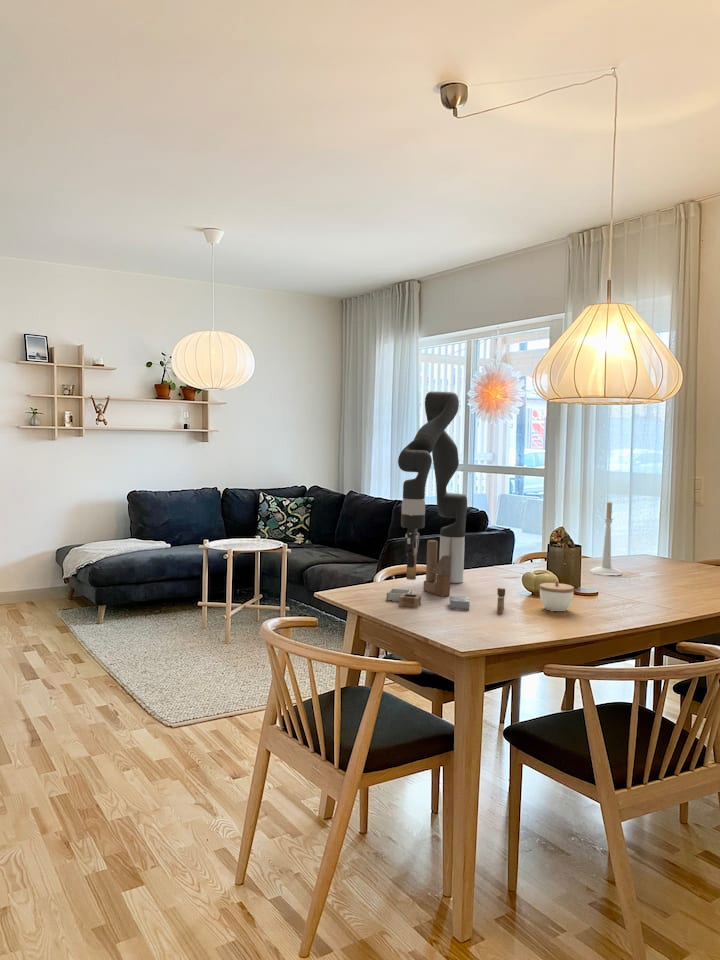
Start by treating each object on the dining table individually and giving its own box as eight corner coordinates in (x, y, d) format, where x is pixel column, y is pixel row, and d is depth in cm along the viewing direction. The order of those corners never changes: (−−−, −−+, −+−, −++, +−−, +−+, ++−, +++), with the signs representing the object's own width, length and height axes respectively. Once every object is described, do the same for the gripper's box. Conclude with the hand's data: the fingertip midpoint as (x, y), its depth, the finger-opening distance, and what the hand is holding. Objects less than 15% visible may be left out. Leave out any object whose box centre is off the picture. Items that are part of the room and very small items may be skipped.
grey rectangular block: (449, 605, 243) (450, 596, 243) (468, 606, 243) (468, 597, 242) (450, 610, 236) (450, 600, 236) (469, 611, 236) (469, 601, 235)
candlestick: (626, 576, 303) (630, 503, 301) (594, 575, 303) (598, 502, 302) (616, 571, 316) (620, 500, 314) (586, 569, 316) (589, 499, 314)
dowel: (407, 577, 242) (408, 546, 241) (416, 578, 241) (417, 547, 240) (405, 579, 239) (406, 548, 238) (414, 580, 238) (415, 548, 237)
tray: (391, 595, 253) (391, 588, 253) (411, 597, 252) (411, 589, 252) (386, 600, 246) (386, 592, 245) (407, 602, 244) (407, 594, 244)
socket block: (402, 602, 244) (402, 593, 244) (420, 603, 242) (421, 594, 242) (399, 606, 238) (399, 596, 238) (417, 607, 237) (418, 598, 236)
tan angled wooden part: (441, 597, 254) (443, 544, 253) (422, 590, 263) (424, 540, 262) (450, 596, 256) (452, 544, 254) (431, 590, 265) (433, 539, 264)
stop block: (497, 607, 241) (498, 585, 240) (505, 607, 240) (506, 586, 240) (495, 613, 232) (496, 591, 232) (503, 614, 232) (504, 591, 231)
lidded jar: (568, 606, 245) (569, 578, 245) (576, 614, 234) (578, 584, 234) (535, 605, 245) (536, 577, 245) (542, 613, 235) (543, 583, 234)
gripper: (405, 509, 246) (404, 561, 247) (397, 514, 232) (395, 569, 234) (428, 511, 244) (426, 563, 245) (421, 515, 231) (419, 570, 232)
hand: (411, 565), depth 240 cm, fingers closed on dowel, 3 cm apart
